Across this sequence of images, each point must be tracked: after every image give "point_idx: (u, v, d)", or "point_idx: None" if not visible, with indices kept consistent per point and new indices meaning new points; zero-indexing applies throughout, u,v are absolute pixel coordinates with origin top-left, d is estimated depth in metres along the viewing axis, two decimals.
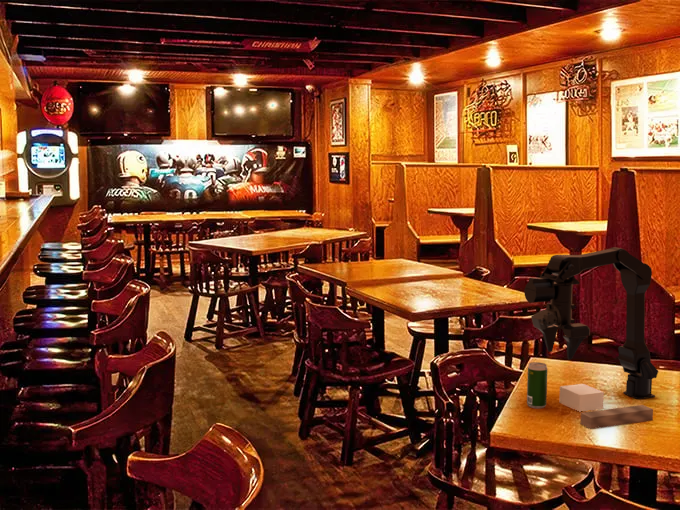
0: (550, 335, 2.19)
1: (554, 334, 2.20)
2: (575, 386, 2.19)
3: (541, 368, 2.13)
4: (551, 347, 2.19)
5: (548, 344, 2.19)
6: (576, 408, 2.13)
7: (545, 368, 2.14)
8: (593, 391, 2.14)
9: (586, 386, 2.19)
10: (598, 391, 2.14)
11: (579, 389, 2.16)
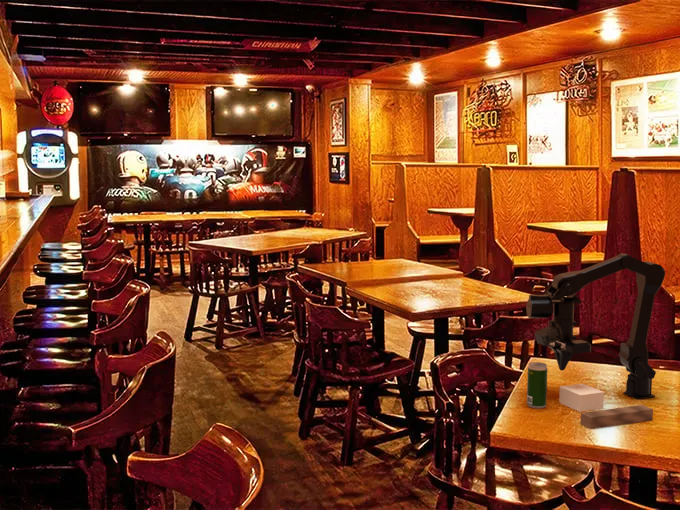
0: None
1: None
2: (575, 386, 2.19)
3: (541, 368, 2.13)
4: None
5: None
6: (576, 408, 2.13)
7: (545, 368, 2.14)
8: (593, 391, 2.14)
9: (585, 386, 2.19)
10: (598, 391, 2.14)
11: (579, 389, 2.16)
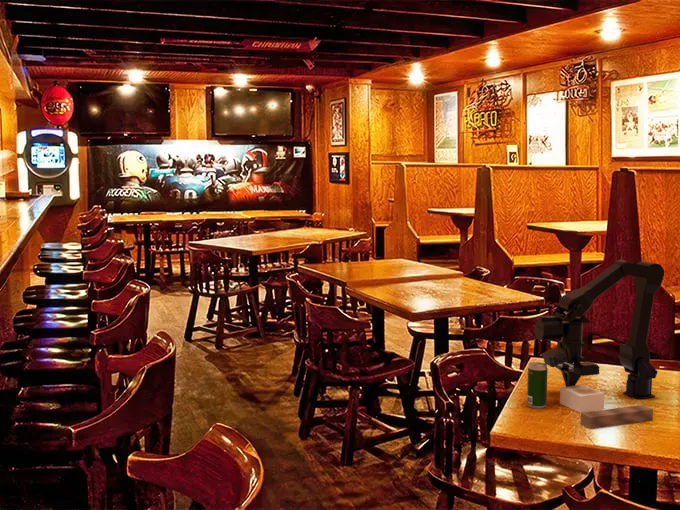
0: None
1: None
2: (576, 387, 2.18)
3: (541, 368, 2.13)
4: None
5: None
6: (577, 409, 2.12)
7: (545, 368, 2.14)
8: (594, 392, 2.13)
9: (586, 387, 2.18)
10: (599, 392, 2.14)
11: (579, 390, 2.15)
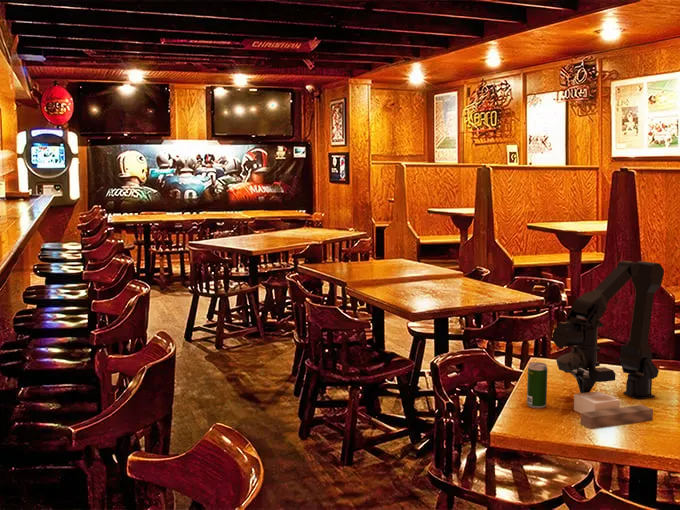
0: None
1: None
2: (590, 394, 2.12)
3: (541, 368, 2.13)
4: None
5: None
6: None
7: (545, 368, 2.14)
8: (609, 399, 2.07)
9: (601, 394, 2.12)
10: (614, 399, 2.07)
11: (594, 397, 2.09)
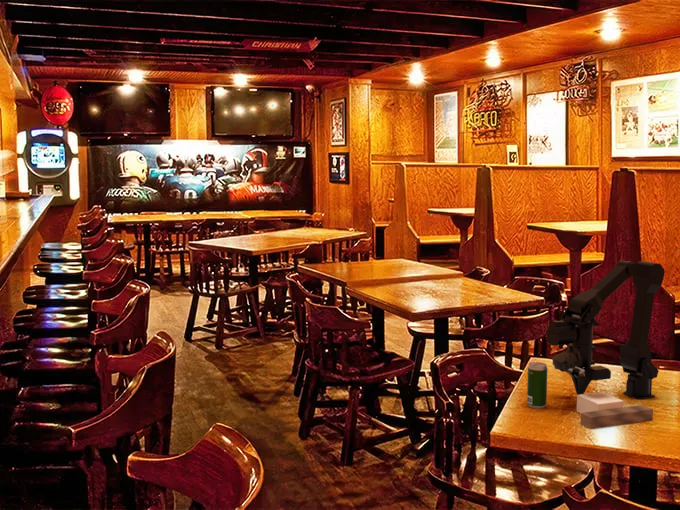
0: None
1: None
2: (593, 395, 2.11)
3: (541, 368, 2.13)
4: None
5: (578, 389, 2.17)
6: None
7: (545, 368, 2.14)
8: (612, 400, 2.06)
9: (604, 395, 2.11)
10: (617, 400, 2.06)
11: (597, 398, 2.08)
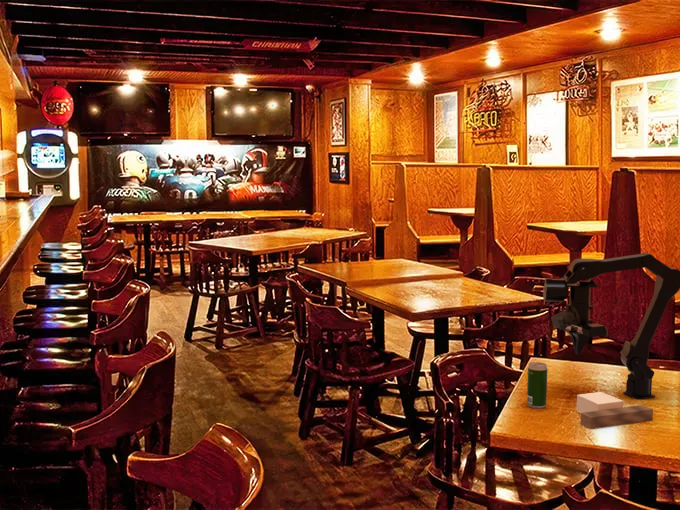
0: None
1: None
2: (593, 395, 2.11)
3: (541, 368, 2.13)
4: None
5: None
6: None
7: (545, 368, 2.14)
8: (612, 400, 2.06)
9: (604, 395, 2.11)
10: (617, 400, 2.06)
11: (597, 398, 2.08)
